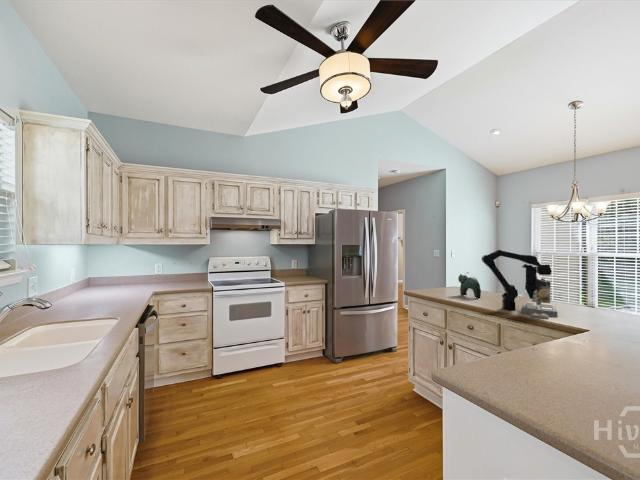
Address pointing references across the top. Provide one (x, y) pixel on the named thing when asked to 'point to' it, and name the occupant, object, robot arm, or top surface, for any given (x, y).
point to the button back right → (546, 305)
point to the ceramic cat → (469, 285)
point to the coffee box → (542, 294)
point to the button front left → (532, 306)
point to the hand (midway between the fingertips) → (531, 298)
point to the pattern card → (539, 315)
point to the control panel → (538, 310)
